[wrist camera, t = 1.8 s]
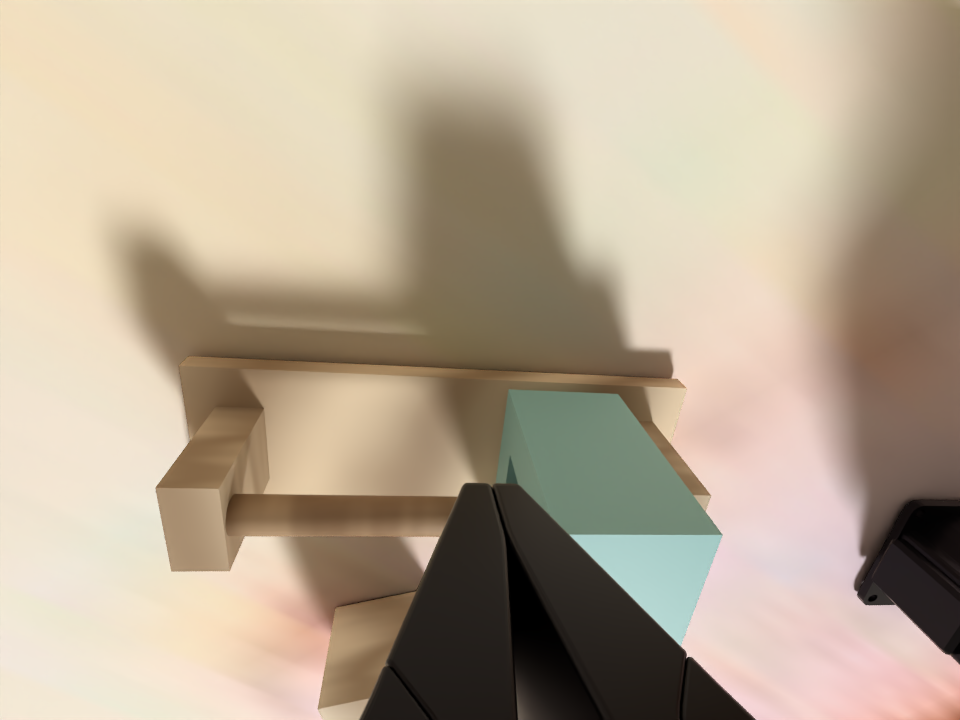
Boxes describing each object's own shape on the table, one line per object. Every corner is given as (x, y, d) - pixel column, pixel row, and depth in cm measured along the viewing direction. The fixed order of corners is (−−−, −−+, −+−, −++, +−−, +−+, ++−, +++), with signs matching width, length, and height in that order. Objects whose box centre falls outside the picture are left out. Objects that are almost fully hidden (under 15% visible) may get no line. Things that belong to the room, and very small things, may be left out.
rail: (677, 378, 20) (756, 455, 15) (642, 500, 22) (701, 599, 18) (188, 356, 18) (103, 439, 13) (208, 495, 20) (142, 609, 15)
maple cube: (432, 587, 23) (434, 684, 19) (450, 651, 25) (455, 751, 21) (335, 607, 23) (317, 709, 19) (360, 670, 25) (349, 774, 21)
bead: (618, 393, 18) (722, 534, 12) (587, 524, 21) (660, 699, 14) (508, 389, 18) (556, 534, 11) (489, 524, 20) (521, 705, 14)
